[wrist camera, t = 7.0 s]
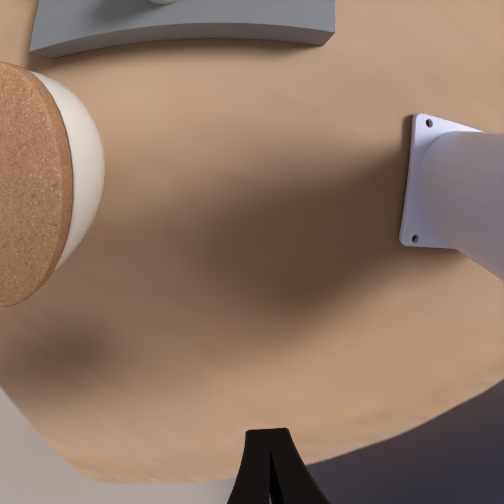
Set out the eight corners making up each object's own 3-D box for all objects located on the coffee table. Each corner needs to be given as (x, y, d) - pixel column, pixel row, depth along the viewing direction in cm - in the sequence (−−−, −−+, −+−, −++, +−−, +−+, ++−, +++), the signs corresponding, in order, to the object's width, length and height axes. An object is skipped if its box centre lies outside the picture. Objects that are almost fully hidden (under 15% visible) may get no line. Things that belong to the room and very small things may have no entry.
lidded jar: (-21, 177, 16) (-118, 210, 7) (59, 48, 14) (-46, 13, 5) (69, 282, 19) (-13, 367, 10) (172, 159, 16) (97, 183, 8)
